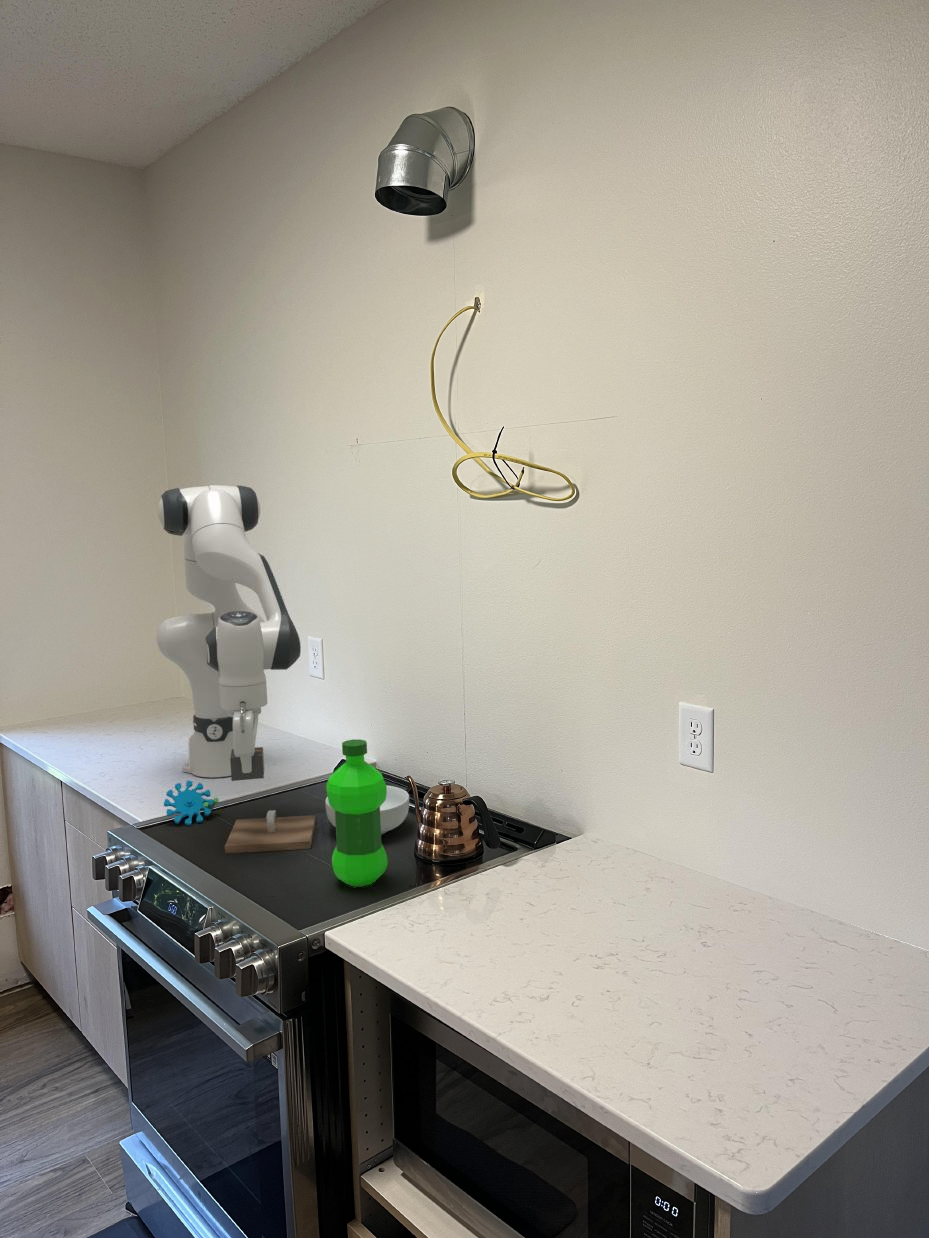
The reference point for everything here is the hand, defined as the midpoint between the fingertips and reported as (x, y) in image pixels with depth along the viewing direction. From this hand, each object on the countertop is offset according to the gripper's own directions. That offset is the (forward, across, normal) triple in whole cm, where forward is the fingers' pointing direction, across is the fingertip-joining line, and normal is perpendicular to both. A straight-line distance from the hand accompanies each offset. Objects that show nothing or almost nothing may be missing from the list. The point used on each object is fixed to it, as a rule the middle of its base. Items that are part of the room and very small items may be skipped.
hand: (247, 766), depth 179 cm
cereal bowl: (+15, -1, -23) cm, 28 cm away
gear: (+15, +15, +13) cm, 25 cm away
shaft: (+14, +1, -4) cm, 14 cm away
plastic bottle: (+15, -24, -19) cm, 35 cm away
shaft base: (+15, 0, -4) cm, 16 cm away
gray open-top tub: (+2, 0, 0) cm, 2 cm away
